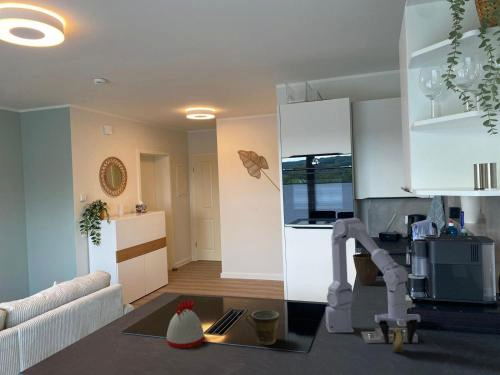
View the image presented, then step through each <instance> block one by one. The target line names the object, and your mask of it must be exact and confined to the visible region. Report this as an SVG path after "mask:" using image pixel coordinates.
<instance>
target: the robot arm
mask: <svg viewBox="0 0 500 375" xmlns="http://www.w3.org/2000/svg"><path fill="white" fill-rule="evenodd" d="M365 226H366V225H365V223H363V222H362V221H361V219H359V217H352V218H343V219H342V218H340V219H337V220H336V221H335V222H333V223H332V234H331V255H332V256H331V259H332V261H331V262H332V283H331V284H330V285H329V286H328V292H327V294H326V301H327V304H328V305H329V306H325V327H326V328H327V331H328V333H330V334H331V333H333V334H334V333H336V334H339V333H355V330H354V329H353V327H352V321H351V320H352V319H351V317H352V316H351V314H352V313H351V306H352V303H353V302H354V301H355V294H354V291H353V285H352V284H351V283H350V282H349V280H348V262H347V259H348V258H347V241H348V240H349V239H355V240H358V242H359V243H360V244H361V245H362V246H363V247H364V248H365V249H366V250H367V252H369V254H372V261H373V262H374V263H375V264H376V265H377V267H378V268H379V270H380V272H381V273H382V274H383V275H382V277H383V280H384V282H385V285H386V289H387V310H388V311H387V312H388V313H382V314H375V315H374V321H375V322H376V323H378V326H379V328H381V330H382V333H383V336H384V340H385V343H384V344H386V345H389V344H390V343H389V336H388V334H389V328H390V326H389V325H388V323H389V322H391V323H392V322H393V323H394V322H396V323H397V322H404V321H406V325H407V327H406V328H407V340H408V342H409V343H408V344H410V345H412V344H413V343H412V340H413V336H414V333H415V334H416V331H417V330H418V327H419V323H420V322H421V315H420V314H414V313H413V314H406V295H407V294H406V291H407V290H406V288H407V287H406V282H407V281H408V280H409V277H410V276H409V271H408V270H407V268H406V267H405V266H403V265H400V264H398V263H397V262H396V261H395V259H393V257H391V255H390V252H389V251H388V250H386V249H383V248H379V246H378V245H377V243H376V242H375V240H374V239H373V238H372V237H371V235H370V234H369V233H368V231H367V230H366V228H365Z"/></svg>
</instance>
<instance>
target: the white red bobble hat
mask: <svg viewBox="0 0 500 375" xmlns="http://www.w3.org/2000/svg"><path fill="white" fill-rule="evenodd" d="M180 304H181V305H180ZM180 304H178V305H177V306H178V309H177V308H175V314H174V315H173V317H172V318H171V319H170V321H169V324H168V328H167V332H166V344H167V345H168V346H169V347H172V348H176V349H189V348H192V347H195V346H198V345H200V344H201V343H203V342H204V340H205V332H204V329H203V326H202V322H201V320H200V318H199V317H198V315H197V314H196V313H195V312H194V311H193V307H194V304H195V301H192V299H188V300H186V299H185V300H181V303H180Z"/></svg>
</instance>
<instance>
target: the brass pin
mask: <svg viewBox="0 0 500 375" xmlns="http://www.w3.org/2000/svg"><path fill="white" fill-rule="evenodd" d="M393 328H394V329H393V343H392V344H393V346H392V347H393V351H394V352H395V353H403V352H404V343H403V332H402V329H399V328H400V327H393Z"/></svg>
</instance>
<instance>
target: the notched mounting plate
mask: <svg viewBox="0 0 500 375" xmlns="http://www.w3.org/2000/svg"><path fill="white" fill-rule="evenodd" d="M394 328H395V327H389V334H388V336H389V344H393V329H394ZM398 328H399V329H402V332H403V344H405V343H407V344H410V343H409V342H408V340H407V327H398ZM360 335H361V338H362V339H363V340H364V342H365V343H366V344H386V343H385V340H384V336H383V333H382V330H381V328H380V327H379V328H378V327H375V328H374V331H361V332H360ZM418 341H419V338H418V334H417V333H416V332H415V333H414V336H413V340H412V344H413V343H418Z"/></svg>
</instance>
